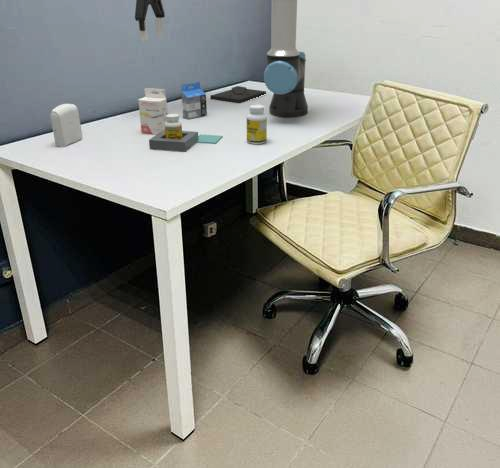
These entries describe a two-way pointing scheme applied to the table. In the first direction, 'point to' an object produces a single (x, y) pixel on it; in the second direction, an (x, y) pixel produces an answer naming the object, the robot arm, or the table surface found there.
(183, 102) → the label tape cartridge
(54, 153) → the table surface
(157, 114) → the ink cartridge box
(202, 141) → the coaster
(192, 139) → the socket frame
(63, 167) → the table surface
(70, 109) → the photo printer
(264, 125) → the pill bottle
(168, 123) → the supplement bottle
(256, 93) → the black ridged flat slab
